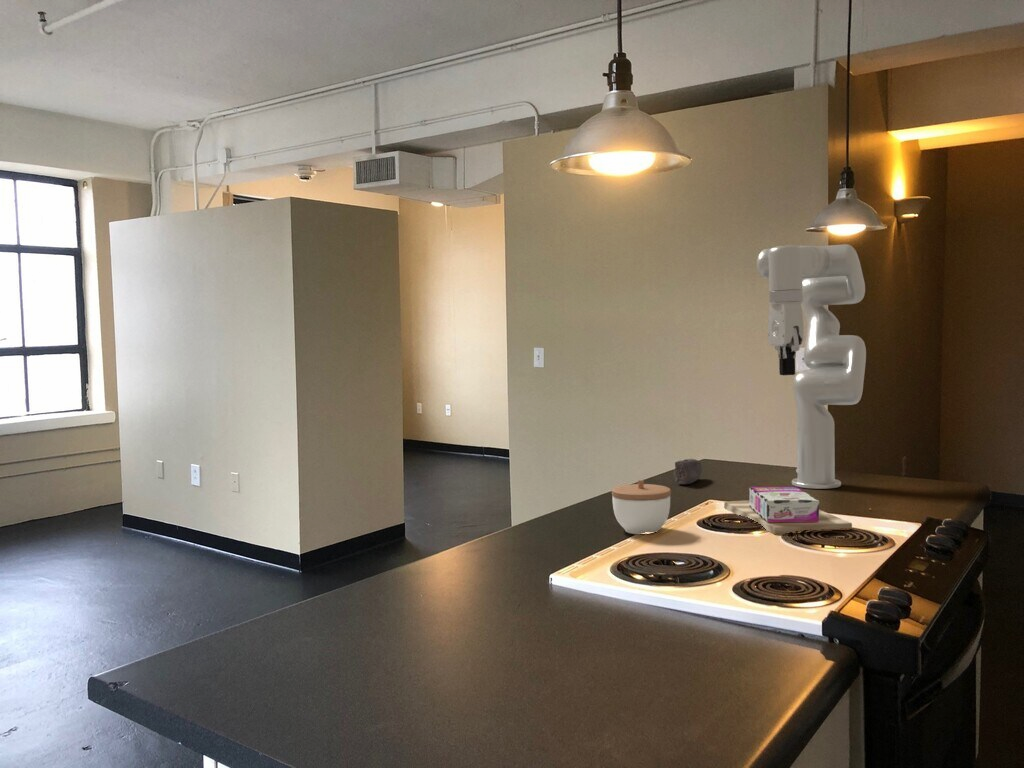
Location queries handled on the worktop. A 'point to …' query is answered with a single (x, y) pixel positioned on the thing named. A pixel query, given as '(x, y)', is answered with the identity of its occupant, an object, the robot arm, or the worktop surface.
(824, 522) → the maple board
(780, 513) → the candy bar box
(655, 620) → the worktop surface
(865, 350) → the robot arm
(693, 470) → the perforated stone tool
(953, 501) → the worktop surface
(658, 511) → the lidded bowl
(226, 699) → the worktop surface
